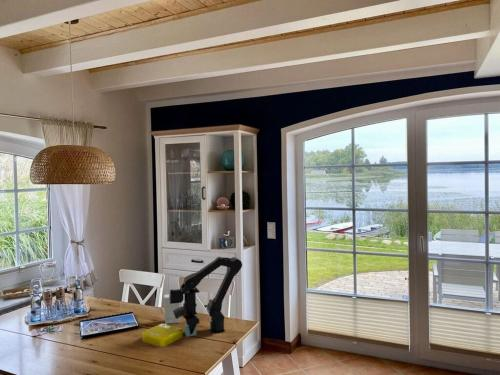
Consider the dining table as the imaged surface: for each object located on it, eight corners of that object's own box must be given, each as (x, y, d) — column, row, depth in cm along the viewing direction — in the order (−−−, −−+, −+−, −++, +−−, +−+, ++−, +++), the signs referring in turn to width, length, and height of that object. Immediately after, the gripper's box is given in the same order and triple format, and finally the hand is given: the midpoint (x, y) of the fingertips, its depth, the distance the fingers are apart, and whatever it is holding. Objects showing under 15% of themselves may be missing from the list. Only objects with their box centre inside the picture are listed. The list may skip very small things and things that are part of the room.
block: (194, 331, 195) (194, 321, 195) (196, 335, 190) (196, 325, 190) (184, 332, 194) (184, 323, 193) (186, 336, 189) (186, 326, 189)
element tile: (140, 341, 185) (140, 331, 185) (162, 330, 198) (162, 321, 198) (162, 348, 177) (162, 338, 177) (184, 336, 190) (184, 327, 190)
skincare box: (179, 319, 213) (179, 292, 212) (180, 323, 207) (179, 296, 206) (164, 320, 211) (164, 294, 211) (164, 324, 205) (163, 297, 205)
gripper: (171, 297, 198) (172, 327, 198) (176, 309, 180) (176, 341, 181) (193, 295, 201) (193, 324, 202) (199, 306, 184) (199, 338, 184)
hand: (190, 332), depth 192 cm, fingers closed on block, 5 cm apart
